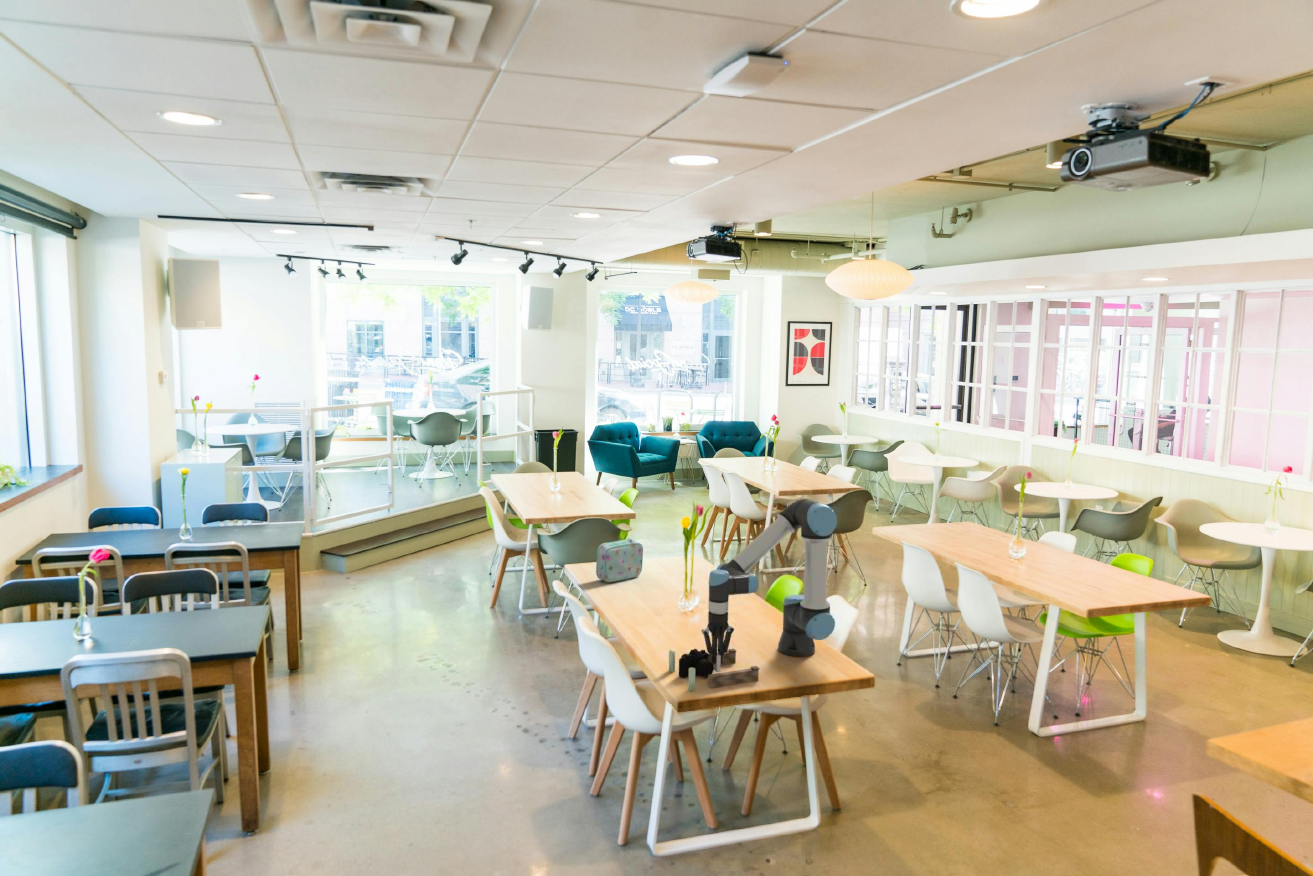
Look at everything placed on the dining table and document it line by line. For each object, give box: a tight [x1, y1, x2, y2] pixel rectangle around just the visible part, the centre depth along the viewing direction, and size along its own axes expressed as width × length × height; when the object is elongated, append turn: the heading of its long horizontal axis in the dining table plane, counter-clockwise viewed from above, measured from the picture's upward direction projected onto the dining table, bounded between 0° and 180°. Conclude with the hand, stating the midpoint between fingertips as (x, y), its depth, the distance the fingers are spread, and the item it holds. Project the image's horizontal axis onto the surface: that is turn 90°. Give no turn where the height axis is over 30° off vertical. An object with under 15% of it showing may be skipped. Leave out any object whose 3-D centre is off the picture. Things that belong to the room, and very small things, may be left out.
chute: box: [707, 648, 760, 689], centre depth 317 cm, size 20×21×5 cm
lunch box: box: [595, 538, 644, 584], centre depth 443 cm, size 27×10×21 cm, turn 130°
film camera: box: [678, 648, 715, 679], centre depth 315 cm, size 15×10×9 cm, turn 131°
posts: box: [668, 649, 696, 692], centre depth 310 cm, size 2×21×8 cm, turn 22°
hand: (717, 670), depth 316 cm, fingers closed
